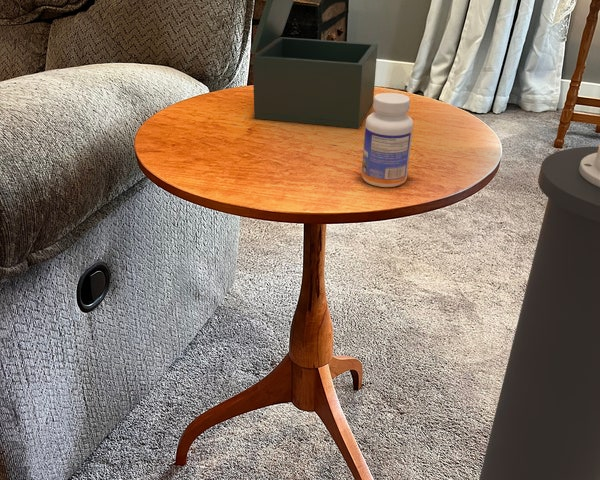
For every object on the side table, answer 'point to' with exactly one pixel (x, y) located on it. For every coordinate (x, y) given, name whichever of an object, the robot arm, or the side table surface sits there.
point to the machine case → (314, 81)
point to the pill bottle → (387, 141)
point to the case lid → (271, 23)
